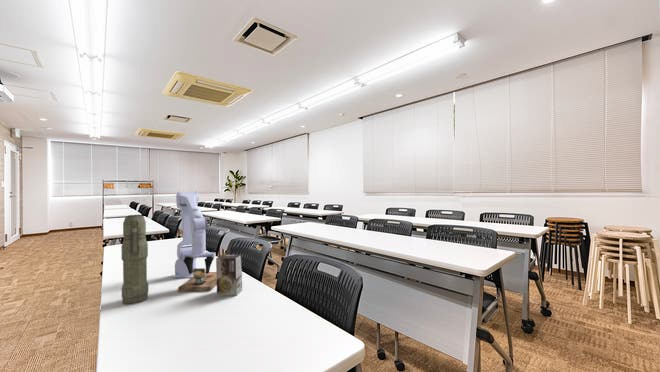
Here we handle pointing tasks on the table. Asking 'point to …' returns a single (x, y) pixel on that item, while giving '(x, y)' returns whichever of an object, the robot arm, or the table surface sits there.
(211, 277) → the board
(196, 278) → the gold rounded piece
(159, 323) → the table surface
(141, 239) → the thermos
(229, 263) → the coffee box
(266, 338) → the table surface
